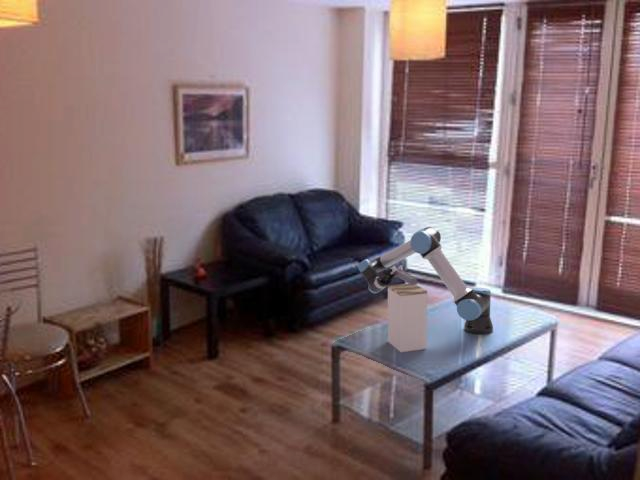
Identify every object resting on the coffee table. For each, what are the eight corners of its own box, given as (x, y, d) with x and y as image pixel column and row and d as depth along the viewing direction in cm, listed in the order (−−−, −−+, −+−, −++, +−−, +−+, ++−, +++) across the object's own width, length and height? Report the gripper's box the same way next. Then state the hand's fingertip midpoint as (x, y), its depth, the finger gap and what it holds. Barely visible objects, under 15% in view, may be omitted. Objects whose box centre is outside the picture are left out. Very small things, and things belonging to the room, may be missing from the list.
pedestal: (387, 341, 331) (387, 285, 325) (412, 338, 335) (412, 283, 329) (400, 352, 316) (400, 293, 310) (426, 348, 320) (427, 290, 314)
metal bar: (389, 272, 335) (389, 267, 335) (395, 272, 336) (395, 266, 336) (411, 284, 311) (411, 278, 310) (416, 284, 312) (416, 278, 311)
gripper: (398, 285, 350) (414, 273, 329) (370, 288, 346) (385, 276, 324) (395, 272, 352) (411, 259, 331) (368, 275, 348) (382, 262, 326)
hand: (398, 267), depth 328 cm, fingers closed on metal bar, 3 cm apart
